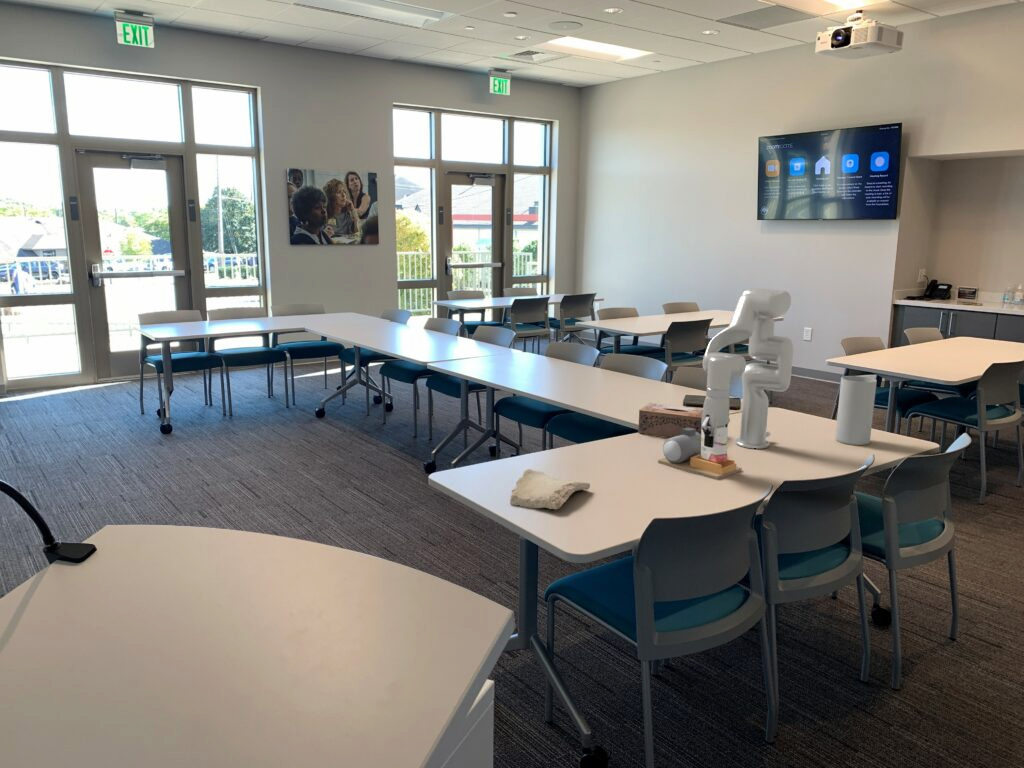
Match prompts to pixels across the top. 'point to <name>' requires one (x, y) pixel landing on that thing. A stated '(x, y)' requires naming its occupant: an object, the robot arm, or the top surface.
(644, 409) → the tissue box cover
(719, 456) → the ink cartridge box
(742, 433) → the robot arm
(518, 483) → the beige pottery fragment
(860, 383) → the cylinder vase
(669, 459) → the motor mount
